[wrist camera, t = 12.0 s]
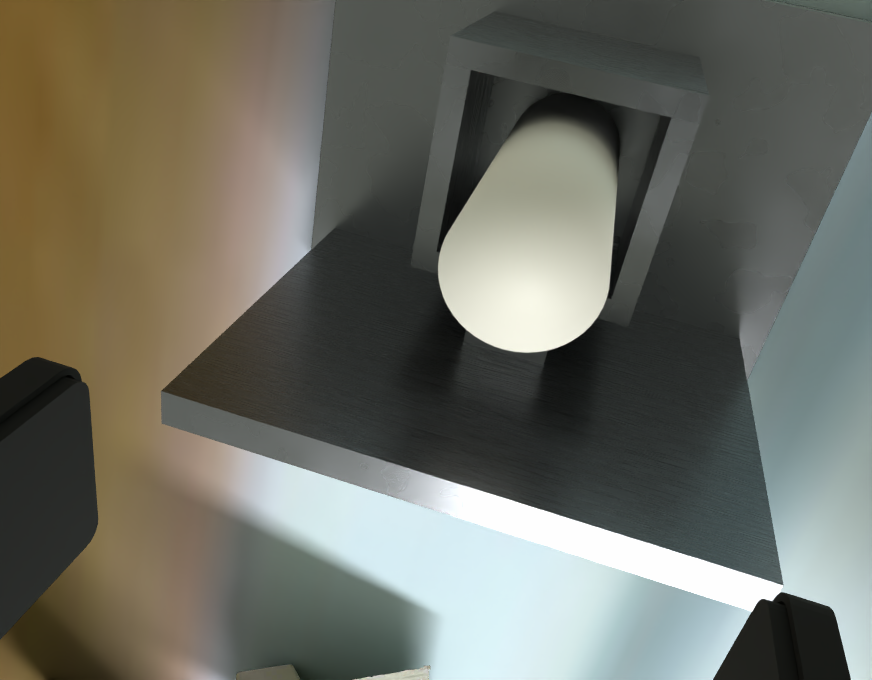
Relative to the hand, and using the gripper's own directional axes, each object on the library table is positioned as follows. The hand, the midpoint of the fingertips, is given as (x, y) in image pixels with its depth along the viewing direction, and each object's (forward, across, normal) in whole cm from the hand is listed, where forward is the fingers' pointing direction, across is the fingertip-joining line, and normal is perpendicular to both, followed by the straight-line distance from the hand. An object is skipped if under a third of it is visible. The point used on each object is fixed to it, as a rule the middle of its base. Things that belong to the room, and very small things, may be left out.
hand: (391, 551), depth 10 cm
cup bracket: (+24, 0, +1) cm, 24 cm away
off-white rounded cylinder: (+21, 0, 0) cm, 21 cm away
